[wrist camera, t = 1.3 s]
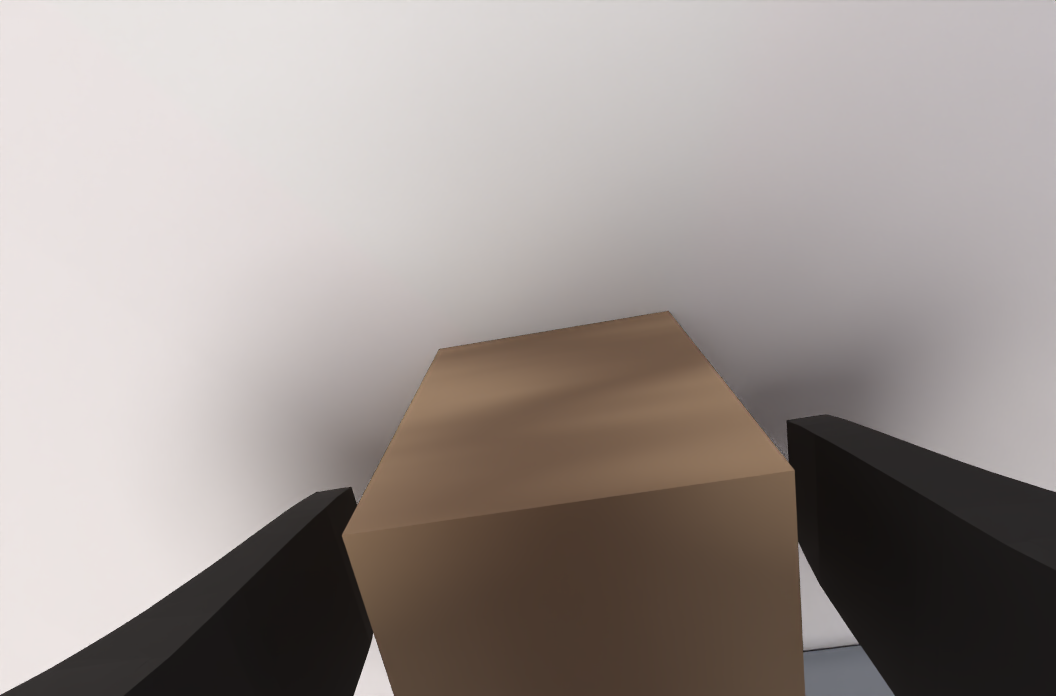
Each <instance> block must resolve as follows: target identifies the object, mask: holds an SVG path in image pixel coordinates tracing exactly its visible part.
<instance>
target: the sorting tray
mask: <svg viewBox="0 0 1056 696" xmlns="http://www.w3.org/2000/svg"><path fill="white" fill-rule="evenodd" d="M803 659H804V680H805V696H895V695H894V694H893V692H892V691H891V689H890V688H889V686H888V685H887V683H886V682H885V681H884V679H883V678H882V676H881V675H880V673H879V672H878V670H877V669H876V667H875V666H874V664H873V663H872V661H871V660H870V659H869V657H868V656H867V654H866V653H865V651H864V650H863V648H862V647H861V645H860V646H851V647H843V648H835V649H826V650H818V651H810V652H803Z"/></svg>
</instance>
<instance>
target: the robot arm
mask: <svg viewBox="0 0 1056 696" xmlns="http://www.w3.org/2000/svg"><path fill="white" fill-rule="evenodd" d="M787 437H788V456H789V464H790V465H791V466H792V468H793V469H794V470H795V490H796V511H797V532H798V542H799V544H800V546H801V548H802V551H803V553H804V555H805V557H806V559H807V561H808V563H809V565H810V567H811V568H812V570H813V572H814V574H815V576H816V578H817V580H818V582H819V584H820V586H821V587H822V589H823V590H824V592H825V593H826V595H827V596H828V598H829V599H830V601H831V602H832V604H833V605H834V607H835V608H836V610H837V611H838V613H839V614H840V616H841V617H842V619H843V620H844V622H845V623H846V625H847V626H848V628H849V629H850V631H851V632H852V634H853V635H854V637H855V638H856V639H857V641H858V642H859V644H860V645H861V647H862V648H863V650H864V651H865V653H866V654H867V656H868V657H869V659H870V660H871V661H872V663H873V664H874V666H875V667H876V669H877V670H878V672H879V673H880V675H881V676H882V678H883V679H884V681H885V682H886V683H887V685H888V686H889V688H890V689H891V691H892V692H893V694H894V695H895V696H1056V492H1053V491H1050V490H1047V489H1043V488H1040V487H1037V486H1034V485H1031V484H1028V483H1024V482H1021V481H1018V480H1015V479H1012V478H1009V477H1005V476H1002V475H999V474H996V473H993V472H990V471H987V470H984V469H981V468H978V467H975V466H972V465H969V464H966V463H963V462H961V461H958V460H955V459H952V458H949V457H947V456H944V455H941V454H938V453H935V452H933V451H930V450H927V449H925V448H922V447H919V446H916V445H914V444H911V443H908V442H906V441H903V440H900V439H898V438H895V437H892V436H889V435H887V434H884V433H881V432H879V431H876V430H873V429H871V428H868V427H865V426H862V425H859V424H857V423H854V422H851V421H848V420H845V419H841V418H838V417H834V416H830V415H819V416H812V417H806V418H799V419H793V420H787ZM356 507H357V503H356V500H355V497H354V494H353V491H352V487H347V488H340V489H334V490H327V491H321V492H316V493H314V494H312V495H311V496H309V497H307V498H305V499H304V500H302V501H300V502H299V503H297V504H296V505H294V506H293V507H291V508H290V509H289V510H287V511H286V512H284V513H283V514H281V515H280V516H279V517H277V518H276V519H274V520H273V521H272V522H270V523H269V524H267V525H266V526H265V527H263V528H262V529H261V530H259V531H258V532H256V533H255V534H254V535H252V536H251V537H250V538H248V539H247V540H246V541H244V542H243V543H241V544H240V545H239V546H237V547H236V548H235V549H233V550H232V551H230V552H229V553H228V554H226V555H225V556H224V557H222V558H221V559H219V560H218V561H217V562H215V563H214V564H213V565H211V566H210V567H208V568H207V569H205V570H204V571H203V572H201V573H200V574H198V575H197V576H195V577H194V578H192V579H191V580H189V581H188V582H187V583H185V584H184V585H182V586H181V587H179V588H178V589H176V590H175V591H173V592H172V593H170V594H169V595H168V596H166V597H165V598H163V599H162V600H160V601H159V602H157V603H156V604H154V605H153V606H152V607H150V608H149V609H147V610H146V611H144V612H143V613H141V614H139V615H138V616H136V617H135V618H133V619H132V620H130V621H129V622H127V623H125V624H124V625H122V626H121V627H119V628H117V629H116V630H114V631H113V632H111V633H109V634H108V635H106V636H105V637H103V638H101V639H99V640H98V641H96V642H94V643H93V644H91V645H89V646H88V647H86V648H84V649H83V650H81V651H79V652H78V653H76V654H74V655H73V656H71V657H69V658H67V659H66V660H64V661H62V662H61V663H59V664H57V665H55V666H54V667H52V668H50V669H48V670H47V671H45V672H43V673H41V674H39V675H37V676H35V677H33V678H32V679H30V680H28V681H26V682H24V683H22V684H20V685H18V686H16V687H15V688H13V689H11V690H9V691H7V692H5V693H3V694H1V695H0V696H353V695H354V693H355V690H356V687H357V684H358V681H359V678H360V675H361V672H362V669H363V666H364V663H365V660H366V657H367V654H368V651H369V648H370V645H371V641H372V636H373V630H372V626H371V623H370V620H369V617H368V614H367V611H366V608H365V605H364V602H363V599H362V596H361V593H360V590H359V587H358V584H357V580H356V577H355V574H354V571H353V568H352V565H351V562H350V559H349V556H348V553H347V550H346V547H345V544H344V541H343V538H342V534H343V532H344V530H345V528H346V526H347V524H348V522H349V521H350V519H351V517H352V515H353V513H354V511H355V509H356Z"/></svg>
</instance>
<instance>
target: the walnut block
mask: <svg viewBox="0 0 1056 696" xmlns="http://www.w3.org/2000/svg"><path fill="white" fill-rule="evenodd" d="M342 538H343V541H344V544H345V547H346V550H347V553H348V556H349V559H350V562H351V565H352V568H353V571H354V574H355V577H356V580H357V584H358V587H359V590H360V593H361V596H362V599H363V602H364V605H365V608H366V611H367V614H368V617H369V620H370V623H371V626H372V630H373V633H374V636H375V639H376V642H377V645H378V648H379V651H380V654H381V657H382V660H383V663H384V666H385V669H386V672H387V675H388V679H389V682H390V685H391V688H392V691H393V694H394V696H805V680H804V659H803V638H802V617H801V595H800V574H799V553H798V532H797V511H796V490H795V470H794V469H793V468H792V466H791V465H790V464H789V463H788V461H787V460H786V459H785V458H784V456H783V455H782V454H781V453H780V451H779V450H778V449H777V447H776V446H775V445H774V444H773V442H772V441H771V440H770V439H769V437H768V436H767V435H766V434H765V432H764V431H763V430H762V429H761V427H760V426H759V425H758V423H757V422H756V421H755V420H754V418H753V417H752V416H751V415H750V413H749V412H748V411H747V410H746V408H745V407H744V406H743V404H742V403H741V402H740V401H739V399H738V398H737V397H736V396H735V394H734V393H733V392H732V391H731V389H730V388H729V387H728V386H727V384H726V383H725V382H724V380H723V379H722V378H721V377H720V375H719V374H718V373H717V372H716V370H715V369H714V368H713V367H712V365H711V364H710V363H709V361H708V360H707V359H706V358H705V356H704V355H703V354H702V353H701V351H700V350H699V349H698V348H697V346H696V345H695V344H694V343H693V341H692V340H691V339H690V337H689V336H688V335H687V334H686V332H685V331H684V330H683V329H682V327H681V326H680V325H679V324H678V322H677V321H676V320H675V319H674V317H673V316H672V315H671V313H670V312H669V311H665V312H659V313H653V314H647V315H641V316H635V317H629V318H623V319H617V320H611V321H605V322H599V323H593V324H587V325H581V326H575V327H569V328H563V329H557V330H551V331H545V332H539V333H533V334H527V335H521V336H515V337H509V338H503V339H497V340H491V341H485V342H479V343H473V344H467V345H461V346H455V347H449V348H443V349H439V350H438V352H437V354H436V356H435V358H434V360H433V362H432V364H431V366H430V367H429V369H428V371H427V373H426V375H425V377H424V379H423V381H422V383H421V385H420V387H419V389H418V390H417V392H416V394H415V396H414V398H413V400H412V402H411V404H410V406H409V408H408V410H407V411H406V413H405V415H404V417H403V419H402V421H401V423H400V425H399V427H398V429H397V431H396V433H395V434H394V436H393V438H392V440H391V442H390V444H389V446H388V448H387V450H386V452H385V454H384V455H383V457H382V459H381V461H380V463H379V465H378V467H377V469H376V471H375V473H374V475H373V477H372V478H371V480H370V482H369V484H368V486H367V488H366V490H365V492H364V494H363V496H362V498H361V500H360V501H359V503H358V505H357V507H356V509H355V511H354V513H353V515H352V517H351V519H350V521H349V522H348V524H347V526H346V528H345V530H344V532H343V534H342Z"/></svg>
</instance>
